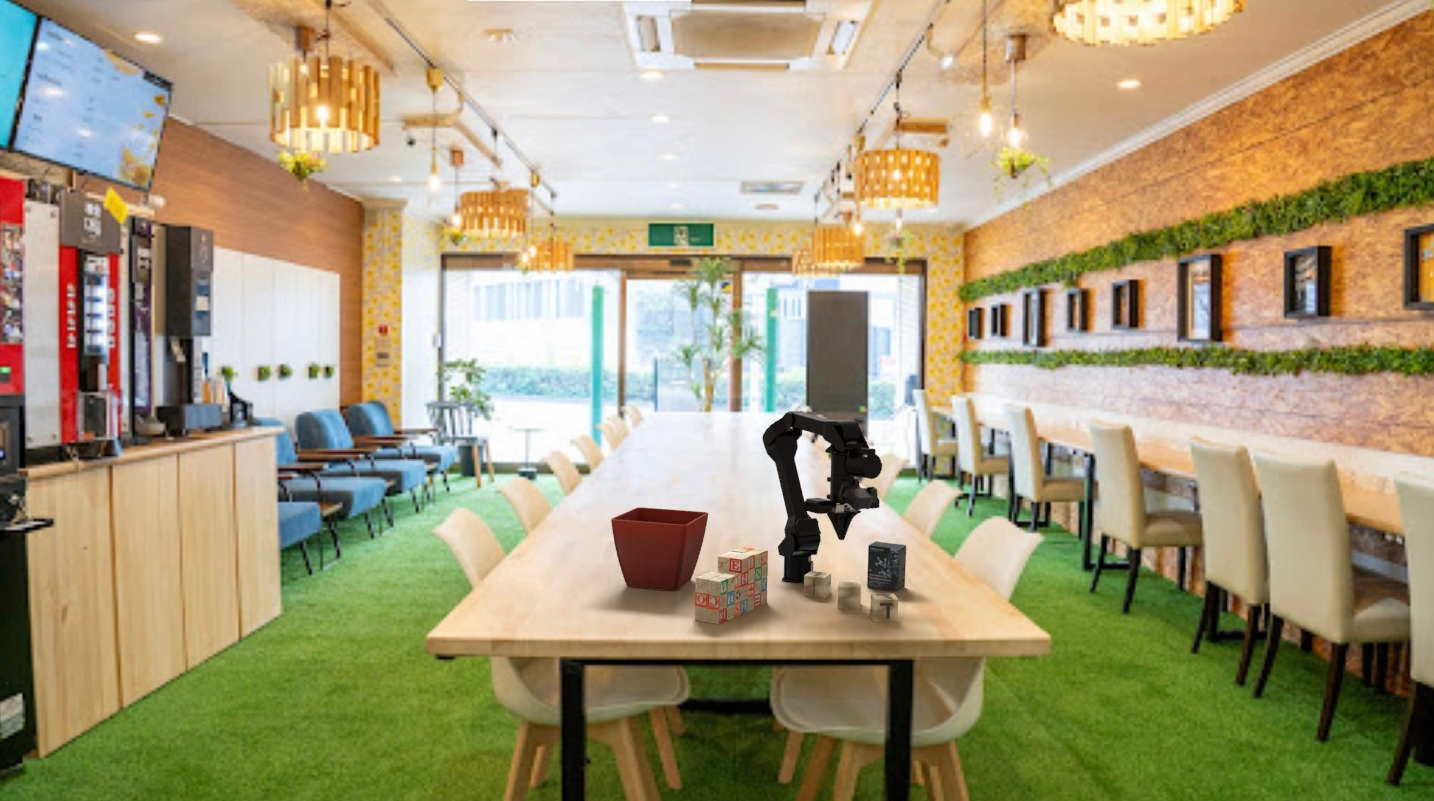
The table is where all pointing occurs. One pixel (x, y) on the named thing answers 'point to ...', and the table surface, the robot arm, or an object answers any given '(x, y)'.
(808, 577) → the numeral cube one
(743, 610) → the stack of blocks
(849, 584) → the plain maple cube
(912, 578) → the table surface
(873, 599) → the letter t cube
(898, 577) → the box
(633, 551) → the plant pot
